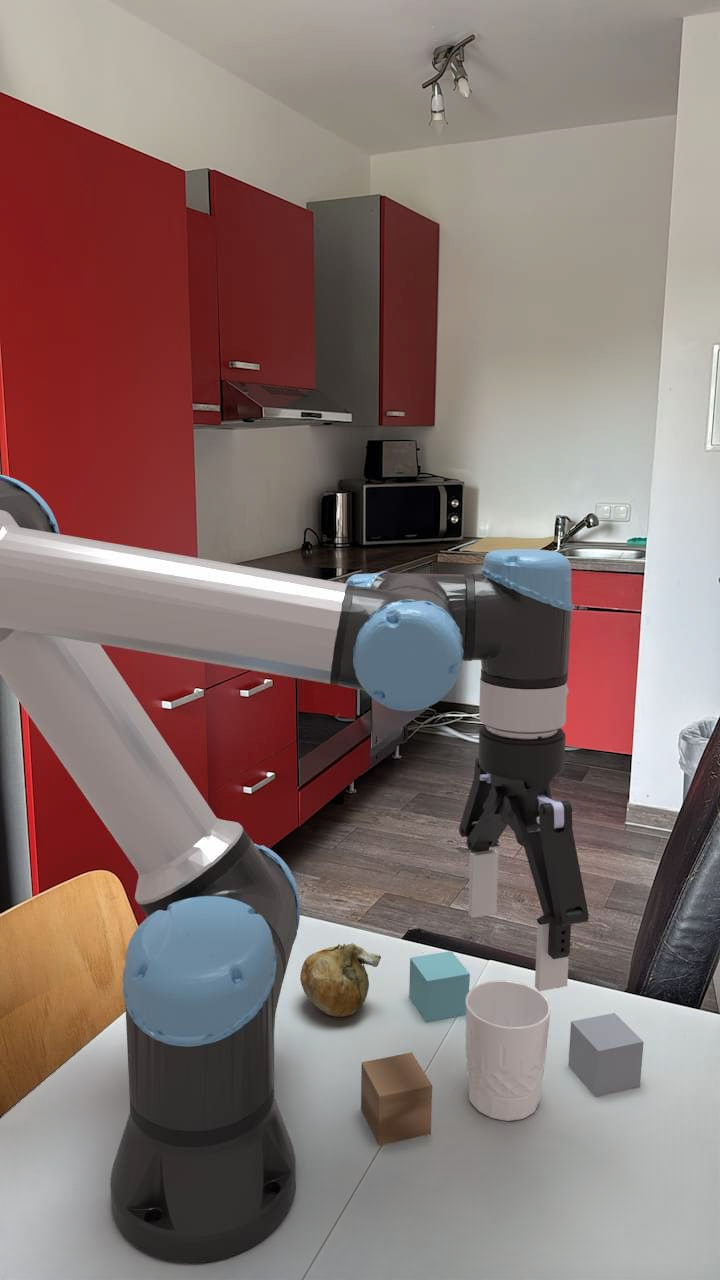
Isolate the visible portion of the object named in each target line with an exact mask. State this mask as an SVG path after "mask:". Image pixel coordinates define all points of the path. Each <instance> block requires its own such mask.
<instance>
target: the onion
mask: <svg viewBox="0 0 720 1280" xmlns="http://www.w3.org/2000/svg"><path fill="white" fill-rule="evenodd" d="M381 958H382V956H381V954H377V953H372V952H367V951H366V950H365V948H362V947H361V946H359V945H357V944H355V943H353V942H351V943H350V944H347V945H346V944H345V943H343V945H341V944H340V943H338V945H335V946H330V947H328V948H324V949H321V950H319V951H316V952H314V953H312V954H310V955H309V956H307V957H306V958H305V960H304V961H303V964H302V966H301V971H300V978H299V980H300V983H301V986H302V987H301V988H302V989H303V991H304V992H303V993H304V994H305V995H306V996H307V997H308V999H309V1000H310V1002H311V1003H313V1004H314V1005H315V1006H316V1008H317V1007H318V1009H320V1011H321V1012H323V1013H324V1014H326V1015H328V1016H331V1017H340V1018H341V1017H342V1018H343V1017H348V1016H350V1015H352V1014H355V1013H356V1012H357V1011H359V1009H360V1008H362V1006H363V1004H364V1003H365V1001H366V999H367V997H368V994H369V993H368V992H369V987H370V981H369V975H368V972H367V970H366V967H365V965H367V966H368V965H369V966H371V967H374V968H377V967H378V966H379V963H380V962H381Z"/></svg>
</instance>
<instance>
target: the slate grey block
mask: <svg viewBox="0 0 720 1280" xmlns="http://www.w3.org/2000/svg"><path fill="white" fill-rule="evenodd" d="M569 1032H570V1033H569V1034H570V1035H569V1046H568V1047H569V1048H568V1049H569V1051H568V1067H569V1068H570V1069H571V1071H572V1072H573V1073H574V1074H575V1075H576V1076H577V1078H578V1079H579V1080H580V1081H581V1082H582V1083H583V1084H584V1085H585V1087H586V1089H588V1090H589V1092H590V1093H591V1094H592V1095H593V1096H594V1097H595V1098H597V1097H601V1096H605V1095H610V1094H615V1093H619V1092H623V1091H628V1090H632V1089H633V1090H634V1089H637V1088H640V1087H641V1076H642V1069H643V1068H642V1066H643V1055H644V1042H645V1041H644V1040H643V1039H642V1038H641V1037H640V1036H639V1035H637V1033H635V1031H634V1030H633V1029H632V1028H631V1027H629V1026H628V1025H627V1023H625V1022H624V1021H623V1020H622V1018H620V1017H619V1016H618V1015H617V1014H616V1013H615V1012H613V1013H608V1014H606V1013H605V1014H602V1015H597V1016H592V1017H591V1016H590V1017H587V1018H582V1019H577V1020H572V1021H570V1031H569Z"/></svg>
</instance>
